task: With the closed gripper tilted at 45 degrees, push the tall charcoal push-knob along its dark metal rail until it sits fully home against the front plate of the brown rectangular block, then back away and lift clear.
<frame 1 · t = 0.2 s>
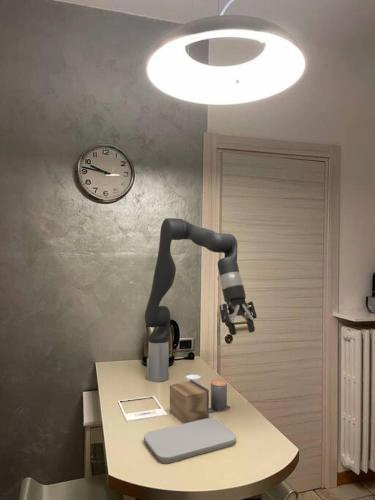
hand: (243, 333, 125), 31 cm above the table, tool tilted 20°, fingers open, 8 cm apart
push knob: (218, 394, 138), point 5 cm above the table, slide at 5.0 cm
photo frame: (141, 410, 138), on the table
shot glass: (193, 394, 153), on the table
brown rectangular block: (207, 411, 136), on the table
tablet: (189, 443, 114), on the table
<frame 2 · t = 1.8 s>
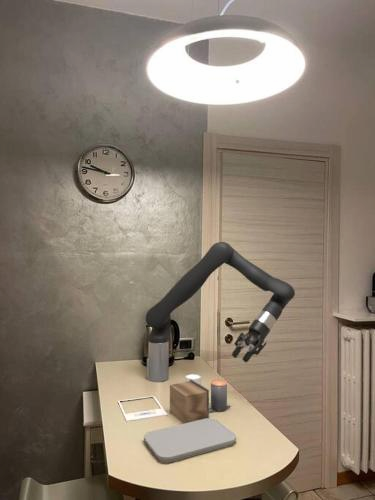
hand: (238, 358, 143), 17 cm above the table, tool tilted 45°, fingers open, 6 cm apart
nothing on the table moved.
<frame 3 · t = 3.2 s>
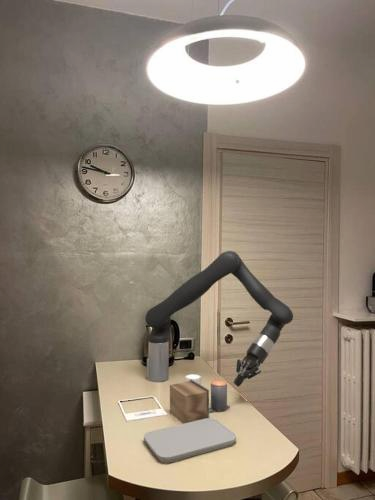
hand: (236, 384, 142), 8 cm above the table, tool tilted 45°, fingers closed
nothing on the table moved.
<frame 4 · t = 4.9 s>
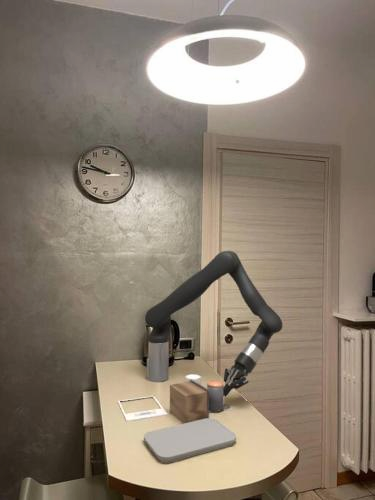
hand: (223, 394, 139), 5 cm above the table, tool tilted 45°, fingers closed
push knob: (215, 395, 137), point 5 cm above the table, slide at 3.4 cm, touching gripper
everything else where it was.
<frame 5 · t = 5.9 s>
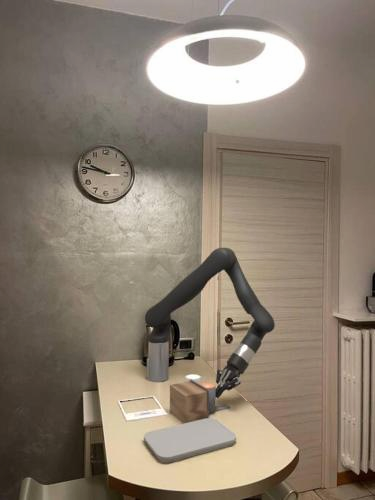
hand: (215, 396, 137), 5 cm above the table, tool tilted 45°, fingers closed
push knob: (207, 396, 136), point 5 cm above the table, slide at -0.1 cm, touching gripper
everything else where it was.
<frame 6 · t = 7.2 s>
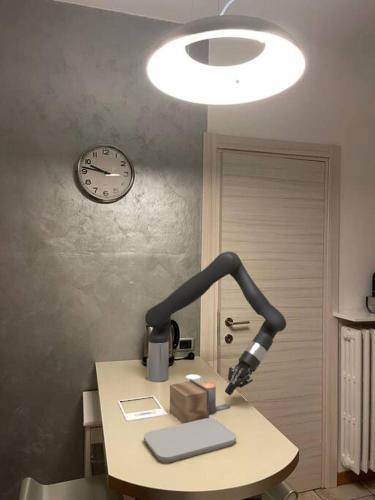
hand: (227, 393, 140), 5 cm above the table, tool tilted 45°, fingers closed
push knob: (207, 396, 136), point 5 cm above the table, slide at 0.0 cm
everything else where it was.
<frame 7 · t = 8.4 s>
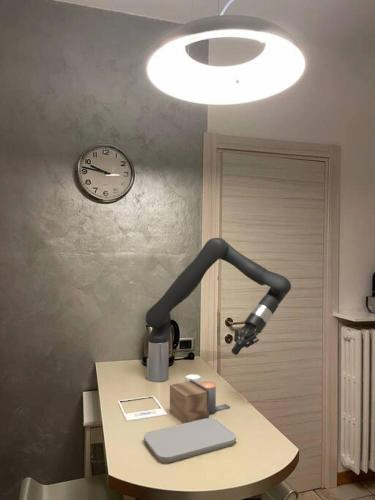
hand: (233, 353, 142), 20 cm above the table, tool tilted 45°, fingers closed
nothing on the table moved.
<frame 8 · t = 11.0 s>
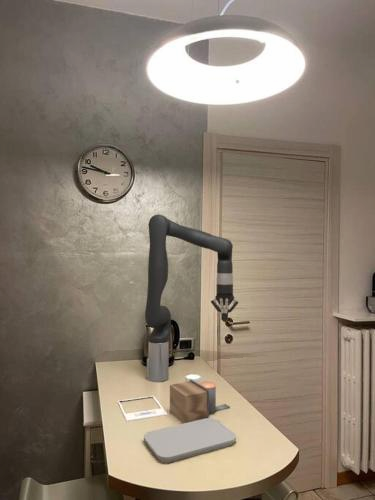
hand: (224, 321, 168), 27 cm above the table, tool pointing down, fingers closed
nothing on the table moved.
at the end: push knob slide at 0.0 cm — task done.
